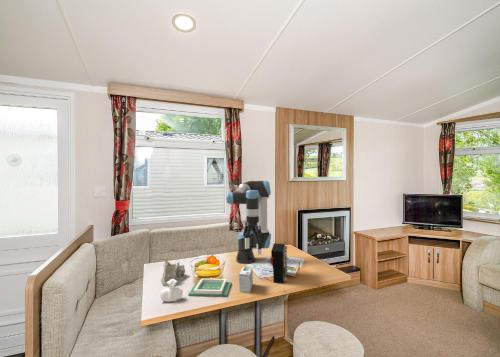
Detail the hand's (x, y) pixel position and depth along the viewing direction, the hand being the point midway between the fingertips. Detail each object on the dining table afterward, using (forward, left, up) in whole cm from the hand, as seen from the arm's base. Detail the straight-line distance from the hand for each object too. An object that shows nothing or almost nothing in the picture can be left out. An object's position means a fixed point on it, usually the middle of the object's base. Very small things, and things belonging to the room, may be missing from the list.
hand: (252, 251), depth 133 cm
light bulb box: (-2, -4, -23) cm, 24 cm away
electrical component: (-18, +17, -23) cm, 33 cm away
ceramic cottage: (-10, -53, -23) cm, 59 cm away
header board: (+1, -25, -23) cm, 34 cm away
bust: (+13, -44, -23) cm, 52 cm away
